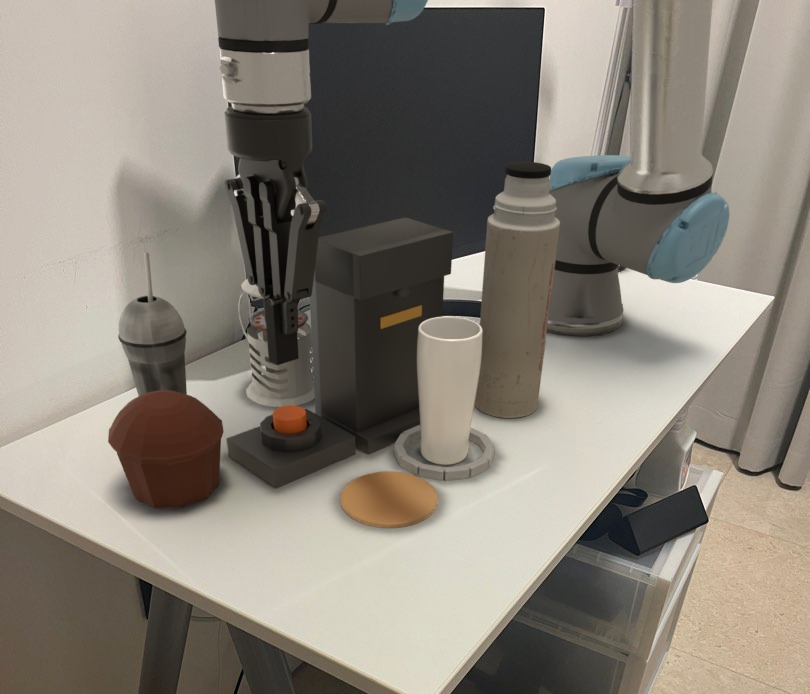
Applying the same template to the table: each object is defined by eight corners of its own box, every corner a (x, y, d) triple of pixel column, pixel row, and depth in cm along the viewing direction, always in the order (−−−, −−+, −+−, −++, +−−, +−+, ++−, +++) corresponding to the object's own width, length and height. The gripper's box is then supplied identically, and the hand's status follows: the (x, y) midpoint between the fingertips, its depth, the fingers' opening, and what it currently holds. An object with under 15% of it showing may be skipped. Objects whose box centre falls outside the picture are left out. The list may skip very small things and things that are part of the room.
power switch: (307, 426, 98) (305, 395, 96) (356, 455, 93) (355, 423, 91) (228, 457, 92) (224, 425, 90) (275, 489, 87) (273, 456, 85)
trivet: (392, 466, 91) (392, 461, 91) (457, 503, 86) (457, 498, 85) (321, 498, 86) (320, 493, 85) (385, 541, 80) (385, 536, 80)
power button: (293, 416, 93) (292, 402, 92) (313, 427, 91) (312, 413, 90) (267, 426, 91) (266, 411, 90) (286, 438, 89) (285, 423, 88)
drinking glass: (429, 475, 90) (434, 344, 81) (404, 446, 95) (406, 320, 86) (484, 463, 92) (495, 334, 83) (457, 436, 97) (465, 312, 88)
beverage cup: (123, 435, 96) (87, 261, 84) (159, 408, 101) (130, 242, 90) (177, 447, 94) (149, 271, 82) (211, 419, 99) (189, 250, 88)
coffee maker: (389, 390, 107) (390, 212, 94) (518, 454, 94) (540, 259, 81) (308, 420, 100) (298, 233, 87) (437, 495, 87) (447, 288, 74)
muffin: (250, 493, 86) (241, 406, 81) (150, 530, 81) (133, 440, 75) (197, 448, 94) (184, 365, 88) (102, 479, 88) (82, 393, 82)
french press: (279, 416, 100) (262, 199, 86) (220, 386, 107) (194, 180, 92) (338, 390, 106) (331, 184, 92) (279, 364, 113) (263, 167, 98)
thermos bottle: (539, 393, 107) (568, 159, 90) (535, 421, 100) (565, 175, 84) (478, 386, 108) (495, 154, 92) (470, 414, 102) (487, 170, 85)
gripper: (190, 99, 74) (218, 349, 88) (276, 120, 66) (292, 390, 80) (260, 92, 78) (276, 332, 92) (348, 111, 70) (351, 370, 84)
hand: (283, 359), depth 86 cm, fingers closed
